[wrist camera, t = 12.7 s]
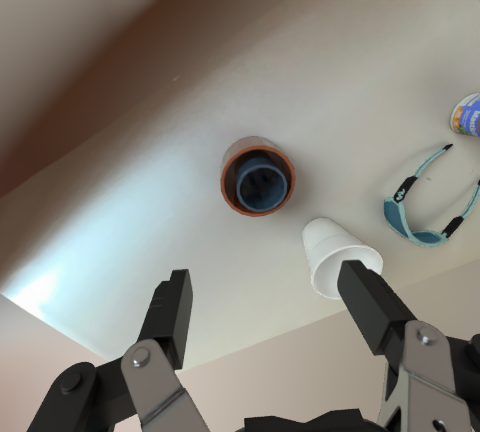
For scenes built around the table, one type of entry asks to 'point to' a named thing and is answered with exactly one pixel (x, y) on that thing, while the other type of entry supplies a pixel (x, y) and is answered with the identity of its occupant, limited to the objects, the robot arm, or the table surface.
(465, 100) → the pill bottle
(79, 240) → the table surface
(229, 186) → the terracotta cup
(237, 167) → the slate cup
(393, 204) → the sunglasses
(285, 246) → the table surface
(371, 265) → the cup
